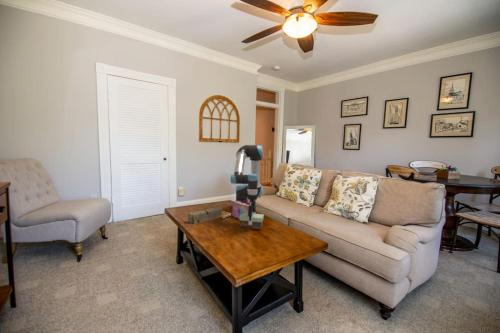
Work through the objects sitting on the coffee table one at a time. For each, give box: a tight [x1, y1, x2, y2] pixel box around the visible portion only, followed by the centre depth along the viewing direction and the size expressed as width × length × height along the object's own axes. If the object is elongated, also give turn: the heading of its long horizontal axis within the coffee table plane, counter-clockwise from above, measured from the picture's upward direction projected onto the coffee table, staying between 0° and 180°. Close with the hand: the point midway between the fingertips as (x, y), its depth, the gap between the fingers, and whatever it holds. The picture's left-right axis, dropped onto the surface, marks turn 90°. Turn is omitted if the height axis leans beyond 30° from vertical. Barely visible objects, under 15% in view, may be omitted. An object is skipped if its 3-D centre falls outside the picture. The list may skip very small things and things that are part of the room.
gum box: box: [232, 200, 257, 220], centre depth 194 cm, size 24×8×14 cm, turn 42°
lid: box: [239, 213, 265, 222], centre depth 174 cm, size 10×17×4 cm, turn 77°
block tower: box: [187, 206, 224, 225], centre depth 190 cm, size 8×8×29 cm
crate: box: [240, 220, 264, 230], centre depth 174 cm, size 7×16×6 cm, turn 77°
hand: (251, 222), depth 174 cm, fingers closed on lid, 10 cm apart
